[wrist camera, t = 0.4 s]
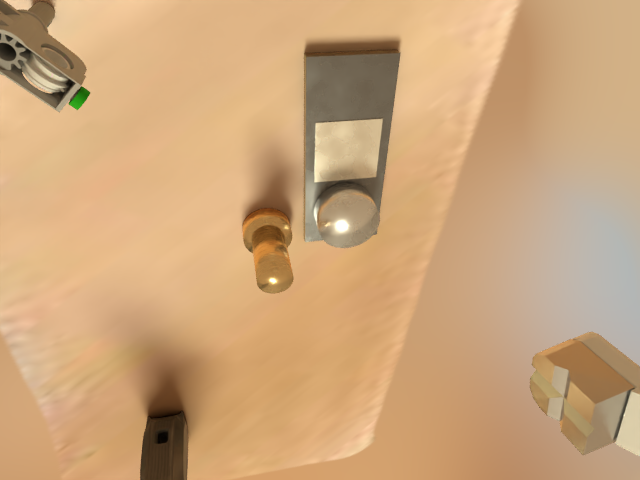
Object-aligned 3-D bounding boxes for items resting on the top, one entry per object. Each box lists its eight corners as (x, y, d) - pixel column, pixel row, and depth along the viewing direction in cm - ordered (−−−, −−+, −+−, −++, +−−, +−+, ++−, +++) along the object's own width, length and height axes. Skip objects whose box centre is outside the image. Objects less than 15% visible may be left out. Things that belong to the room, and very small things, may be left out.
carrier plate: (304, 53, 43) (311, 68, 40) (397, 49, 45) (411, 64, 42) (303, 236, 57) (309, 258, 54) (374, 229, 59) (383, 250, 56)
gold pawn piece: (240, 210, 53) (246, 263, 46) (289, 206, 54) (301, 257, 47) (244, 247, 57) (250, 302, 50) (290, 243, 57) (301, 295, 51)
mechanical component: (-15, -59, 34) (-77, -32, 26) (113, 45, 40) (93, 92, 32) (-35, -27, 35) (-100, 8, 27) (93, 70, 41) (68, 121, 33)
